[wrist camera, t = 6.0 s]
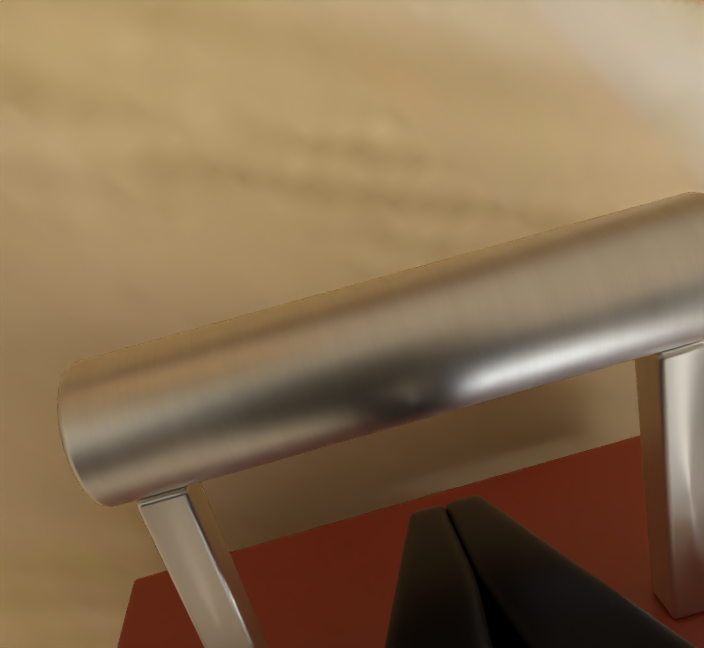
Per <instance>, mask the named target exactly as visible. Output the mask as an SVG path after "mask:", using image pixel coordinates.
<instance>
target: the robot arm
mask: <svg viewBox="0 0 704 648" xmlns="http://www.w3.org/2000/svg"><path fill="white" fill-rule="evenodd" d="M384 648H697V647H696V646H694V645H693V644H692V643H690V642H689V641H687V640H686V639H684V638H683V637H681V636H680V635H679V634H677V633H676V632H674V631H673V630H671V629H670V628H669V627H667V626H666V625H664V624H663V623H661V622H660V621H659V620H657V619H656V618H654V617H653V616H651V615H650V614H649V613H647V612H646V611H644V610H643V609H641V608H640V607H638V606H637V605H636V604H634V603H633V602H631V601H630V600H628V599H627V598H626V597H624V596H623V595H621V594H620V593H618V592H617V591H616V590H614V589H613V588H611V587H610V586H608V585H607V584H605V583H604V582H603V581H601V580H600V579H598V578H597V577H595V576H594V575H593V574H591V573H590V572H588V571H587V570H585V569H584V568H583V567H581V566H580V565H578V564H577V563H575V562H574V561H573V560H571V559H570V558H568V557H567V556H565V555H564V554H562V553H561V552H560V551H558V550H557V549H555V548H554V547H552V546H551V545H550V544H548V543H547V542H545V541H544V540H542V539H541V538H540V537H538V536H537V535H535V534H534V533H532V532H531V531H529V530H528V529H527V528H525V527H524V526H522V525H521V524H519V523H518V522H517V521H515V520H514V519H512V518H511V517H509V516H508V515H507V514H505V513H504V512H502V511H501V510H499V509H498V508H497V507H495V506H494V505H492V504H491V503H489V502H488V501H486V500H485V499H484V498H482V497H481V496H478V495H471V496H468V497H464V498H461V499H457V500H454V501H450V502H448V503H447V504H446V508H444V507H443V506H441V505H436V506H433V507H429V508H426V509H422V510H419V511H415V512H413V513H412V514H411V516H410V518H409V522H408V527H407V532H406V538H405V543H404V548H403V553H402V558H401V563H400V568H399V574H398V579H397V584H396V589H395V594H394V599H393V604H392V609H391V615H390V620H389V625H388V630H387V635H386V640H385V645H384Z"/></svg>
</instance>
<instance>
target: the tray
mask: <svg viewBox="0 0 704 648" xmlns="http://www.w3.org/2000/svg"><path fill="white" fill-rule="evenodd" d="M633 359H635V369H636V382H637V396H638V410H639V423H640V436H636V437H633V438H629V439H626V440H622V441H619V442H615V443H612V444H608V445H605V446H601V447H598V448H594V449H591V450H587V451H584V452H580V453H577V454H573V455H570V456H566V457H563V458H559V459H556V460H552V461H549V462H545V463H542V464H538V465H535V466H531V467H528V468H524V469H521V470H517V471H514V472H510V473H507V474H503V475H500V476H496V477H493V478H489V479H486V480H482V481H479V482H475V483H472V484H468V485H465V486H461V487H458V488H454V489H451V490H447V491H444V492H440V493H437V494H433V495H430V496H426V497H423V498H419V499H416V500H412V501H409V502H405V503H402V504H398V505H395V506H391V507H388V508H384V509H381V510H377V511H374V512H370V513H367V514H363V515H360V516H356V517H353V518H349V519H346V520H342V521H339V522H335V523H332V524H328V525H325V526H321V527H318V528H314V529H311V530H307V531H304V532H300V533H297V534H293V535H290V536H286V537H283V538H279V539H276V540H272V541H269V542H265V543H262V544H258V545H255V546H251V547H248V548H244V549H241V550H237V551H234V552H229V550H228V548H227V545H226V543H225V540H224V538H223V536H222V533H221V531H220V528H219V526H218V524H217V521H216V519H215V517H214V514H213V512H212V509H211V507H210V505H209V502H208V500H207V498H206V495H205V493H204V490H203V488H202V486H201V483H200V482H202V481H205V480H209V479H212V478H216V477H220V476H223V475H227V474H230V473H234V472H237V471H241V470H244V469H248V468H251V467H255V466H258V465H262V464H265V463H269V462H273V461H276V460H280V459H283V458H287V457H290V456H294V455H297V454H301V453H304V452H308V451H311V450H315V449H319V448H322V447H326V446H329V445H333V444H336V443H340V442H343V441H347V440H350V439H354V438H357V437H361V436H364V435H368V434H372V433H375V432H379V431H382V430H386V429H389V428H393V427H396V426H400V425H403V424H407V423H410V422H414V421H418V420H421V419H425V418H428V417H432V416H435V415H439V414H442V413H446V412H449V411H453V410H456V409H460V408H464V407H467V406H471V405H474V404H478V403H481V402H485V401H488V400H492V399H495V398H499V397H502V396H506V395H509V394H513V393H517V392H520V391H524V390H527V389H531V388H534V387H538V386H541V385H545V384H548V383H552V382H555V381H559V380H563V379H566V378H570V377H573V376H577V375H580V374H584V373H587V372H591V371H594V370H598V369H601V368H605V367H608V366H612V365H616V364H619V363H623V362H626V361H630V360H633ZM57 412H58V423H59V430H60V435H61V440H62V444H63V448H64V451H65V454H66V457H67V460H68V463H69V465H70V468H71V470H72V472H73V474H74V476H75V478H76V480H77V482H78V483H79V485H80V486H81V488H82V489H83V491H84V492H85V493H86V494H87V495H88V497H90V498H91V499H92V500H93V501H94V502H96V503H97V504H100V505H103V506H112V507H113V506H117V505H121V504H124V503H128V502H131V501H135V500H137V508H138V510H139V512H140V514H141V516H142V518H143V520H144V523H145V525H146V527H147V529H148V531H149V533H150V535H151V537H152V539H153V541H154V543H155V546H156V548H157V550H158V552H159V554H160V556H161V558H162V560H163V562H164V564H165V566H166V569H167V571H164V572H160V573H157V574H153V575H150V576H146V577H143V578H139V579H137V580H135V581H134V584H133V588H132V592H131V596H130V600H129V604H128V607H127V611H126V615H125V619H124V623H123V627H122V631H121V635H120V638H119V642H118V646H117V648H384V645H385V640H386V635H387V630H388V625H389V620H390V615H391V609H392V604H393V599H394V594H395V589H396V584H397V579H398V574H399V568H400V563H401V558H402V553H403V548H404V543H405V538H406V532H407V527H408V522H409V518H410V516H411V514H412V513H413V512H415V511H419V510H422V509H426V508H429V507H433V506H436V505H441V506H443V507H444V508H446V504H447V503H448V502H450V501H454V500H457V499H461V498H464V497H468V496H471V495H478V496H481V497H482V498H484V499H485V500H486V501H488V502H489V503H491V504H492V505H494V506H495V507H497V508H498V509H499V510H501V511H502V512H504V513H505V514H507V515H508V516H509V517H511V518H512V519H514V520H515V521H517V522H518V523H519V524H521V525H522V526H524V527H525V528H527V529H528V530H529V531H531V532H532V533H534V534H535V535H537V536H538V537H540V538H541V539H542V540H544V541H545V542H547V543H548V544H550V545H551V546H552V547H554V548H555V549H557V550H558V551H560V552H561V553H562V554H564V555H565V556H567V557H568V558H570V559H571V560H573V561H574V562H575V563H577V564H578V565H580V566H581V567H583V568H584V569H585V570H587V571H588V572H590V573H591V574H593V575H594V576H595V577H597V578H598V579H600V580H601V581H603V582H604V583H605V584H607V585H608V586H610V587H611V588H613V589H614V590H616V591H617V592H618V593H620V594H621V595H623V596H624V597H626V598H627V599H628V600H630V601H631V602H633V603H634V604H636V605H637V606H638V607H640V608H641V609H643V610H644V611H646V612H647V613H649V614H650V615H651V616H653V617H654V618H656V619H657V620H659V621H660V622H661V623H663V624H664V625H666V626H667V627H669V628H670V629H671V630H673V631H674V632H676V633H677V634H679V635H680V636H681V637H683V638H684V639H686V640H687V641H689V642H690V643H692V644H693V645H694V646H696V647H697V648H704V194H701V193H695V192H688V193H684V194H680V195H676V196H673V197H669V198H665V199H662V200H658V201H655V202H651V203H647V204H644V205H640V206H637V207H633V208H629V209H626V210H622V211H619V212H615V213H611V214H608V215H604V216H601V217H597V218H593V219H590V220H586V221H583V222H579V223H575V224H572V225H568V226H564V227H561V228H557V229H554V230H550V231H546V232H543V233H539V234H536V235H532V236H528V237H525V238H521V239H518V240H514V241H510V242H507V243H503V244H500V245H496V246H492V247H489V248H485V249H481V250H478V251H474V252H471V253H467V254H463V255H460V256H456V257H453V258H449V259H445V260H442V261H438V262H435V263H431V264H427V265H424V266H420V267H417V268H413V269H409V270H406V271H402V272H399V273H395V274H391V275H388V276H384V277H380V278H377V279H373V280H370V281H366V282H362V283H359V284H355V285H352V286H348V287H344V288H341V289H337V290H334V291H330V292H326V293H323V294H319V295H316V296H312V297H308V298H305V299H301V300H297V301H294V302H290V303H287V304H283V305H279V306H276V307H272V308H269V309H265V310H261V311H258V312H254V313H251V314H247V315H243V316H240V317H236V318H233V319H229V320H225V321H222V322H218V323H215V324H211V325H207V326H204V327H200V328H196V329H193V330H189V331H186V332H182V333H178V334H175V335H171V336H168V337H164V338H160V339H157V340H153V341H150V342H146V343H142V344H139V345H135V346H132V347H128V348H124V349H121V350H117V351H113V352H110V353H106V354H103V355H99V356H95V357H92V358H88V359H85V360H81V361H78V362H75V363H74V364H73V365H71V366H70V367H69V368H68V369H67V370H66V371H65V372H64V374H63V376H62V378H61V381H60V385H59V390H58V398H57Z"/></svg>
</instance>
